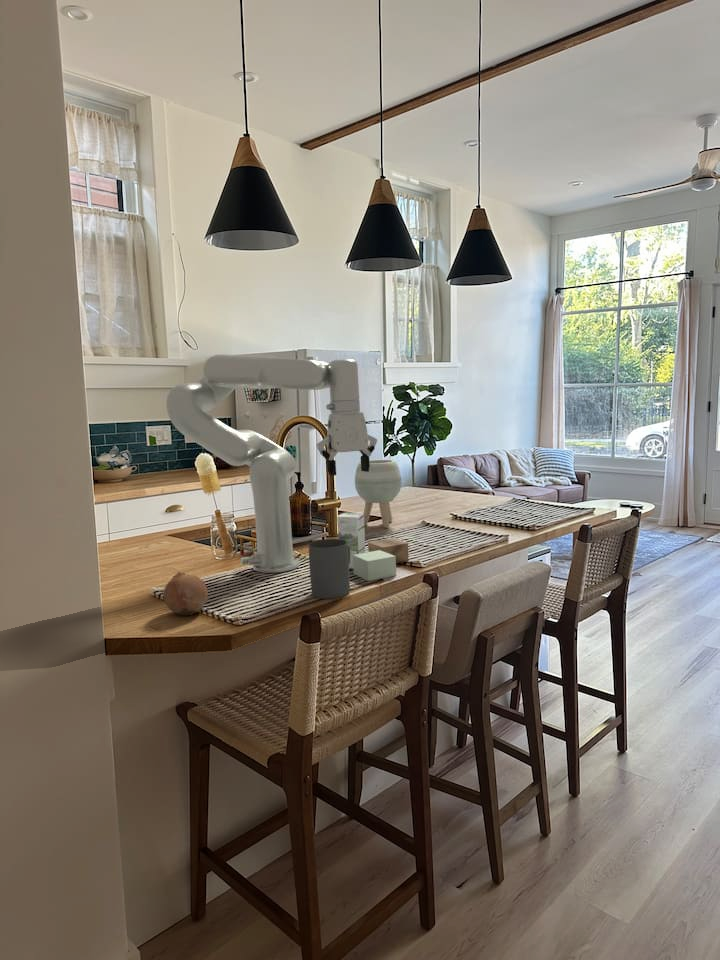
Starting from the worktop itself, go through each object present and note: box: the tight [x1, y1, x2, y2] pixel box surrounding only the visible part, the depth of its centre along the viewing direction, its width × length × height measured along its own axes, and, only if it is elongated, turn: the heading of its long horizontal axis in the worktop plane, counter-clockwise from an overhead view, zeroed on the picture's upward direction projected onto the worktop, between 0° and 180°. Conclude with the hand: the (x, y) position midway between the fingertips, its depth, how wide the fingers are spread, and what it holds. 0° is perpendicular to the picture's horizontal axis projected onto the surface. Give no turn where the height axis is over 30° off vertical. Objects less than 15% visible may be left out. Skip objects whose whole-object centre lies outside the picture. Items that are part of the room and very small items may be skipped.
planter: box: [354, 459, 402, 529], centre depth 227 cm, size 16×16×22 cm
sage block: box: [352, 550, 397, 582], centre depth 167 cm, size 8×8×5 cm
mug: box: [308, 538, 351, 600], centre depth 155 cm, size 14×9×12 cm
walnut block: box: [367, 537, 410, 564], centre depth 180 cm, size 8×8×5 cm
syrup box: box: [336, 512, 366, 570], centre depth 175 cm, size 6×6×14 cm
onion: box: [162, 571, 209, 617], centre depth 144 cm, size 10×9×10 cm
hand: (349, 473), depth 172 cm, fingers open, 9 cm apart
